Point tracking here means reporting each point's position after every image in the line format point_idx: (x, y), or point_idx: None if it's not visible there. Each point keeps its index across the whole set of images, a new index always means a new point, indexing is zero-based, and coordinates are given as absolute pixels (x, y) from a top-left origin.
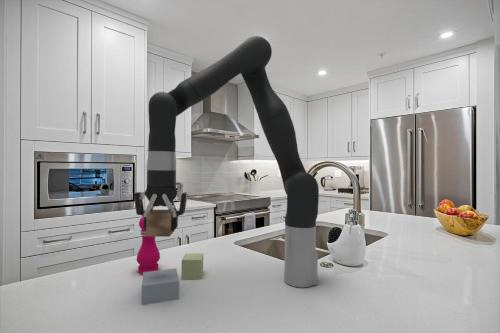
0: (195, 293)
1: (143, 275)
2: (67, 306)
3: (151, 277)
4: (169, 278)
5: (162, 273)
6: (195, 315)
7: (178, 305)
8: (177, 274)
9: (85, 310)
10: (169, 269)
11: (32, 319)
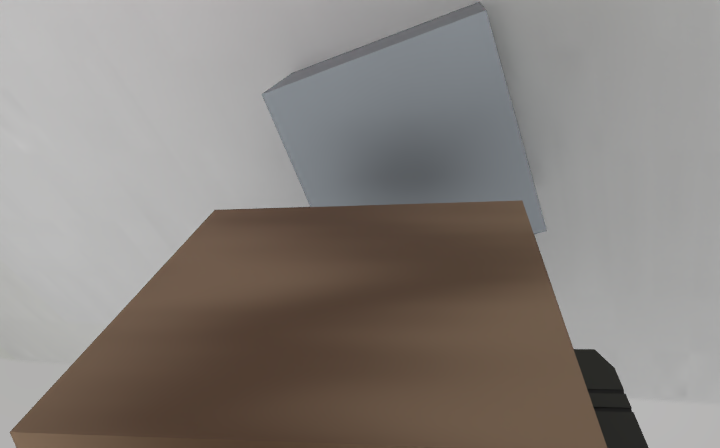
0: (623, 125)
1: (288, 148)
2: (52, 242)
3: (353, 178)
4: (475, 193)
5: (404, 113)
6: (631, 324)
7: (539, 246)
8: (518, 131)
9: (146, 272)
10: (436, 38)
11: (14, 319)
